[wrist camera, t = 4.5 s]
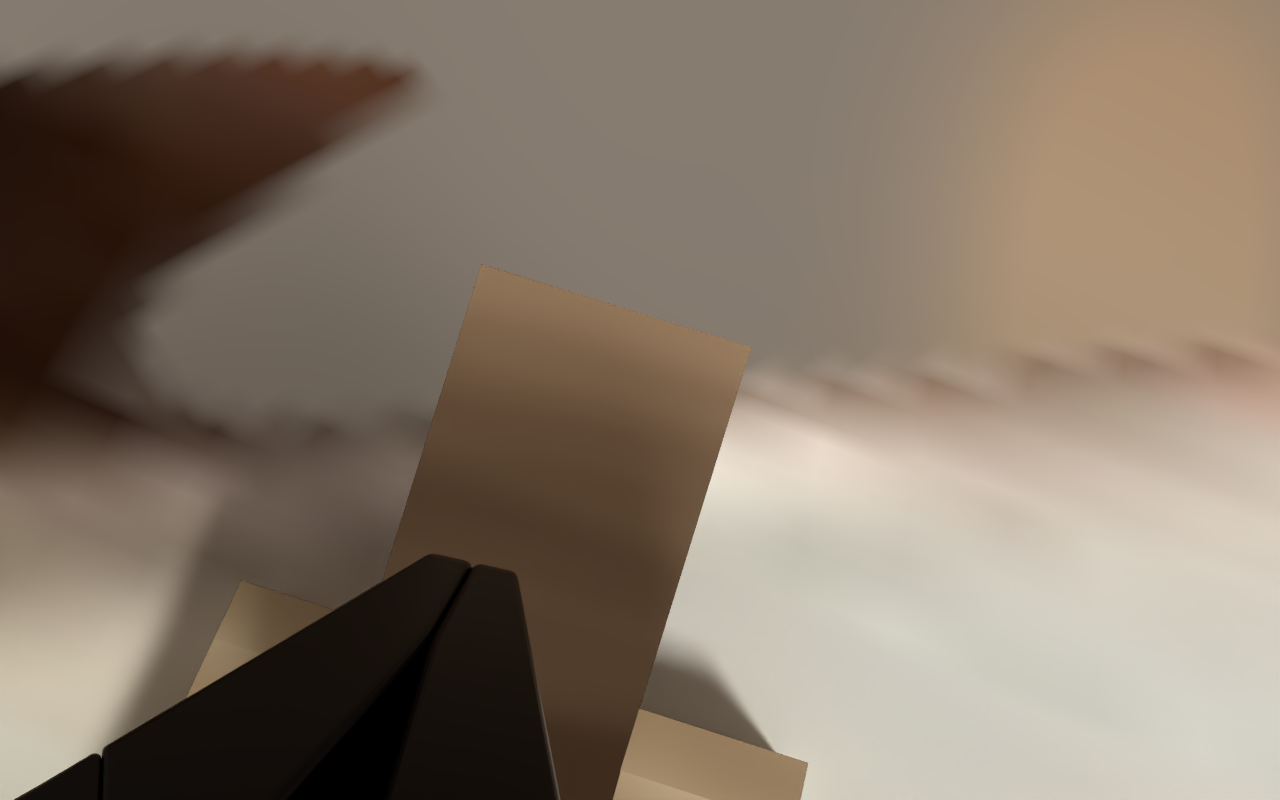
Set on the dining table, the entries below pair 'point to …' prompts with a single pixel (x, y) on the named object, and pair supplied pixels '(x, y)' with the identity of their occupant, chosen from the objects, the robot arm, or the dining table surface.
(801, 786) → the oak holder
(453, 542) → the walnut block
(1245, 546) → the dining table surface
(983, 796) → the dining table surface
